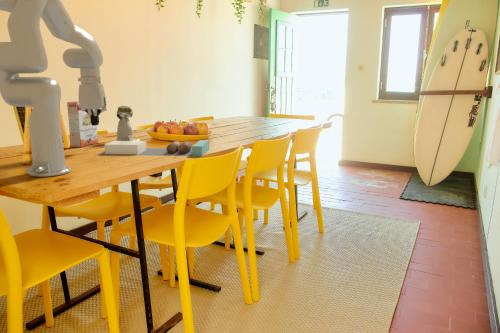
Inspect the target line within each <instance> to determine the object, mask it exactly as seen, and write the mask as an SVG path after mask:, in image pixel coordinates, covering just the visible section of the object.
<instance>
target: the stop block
mask: <svg viewBox="0 0 500 333" xmlns="http://www.w3.org/2000/svg"><path fill="white" fill-rule="evenodd" d="M191 149H192V156H191V157H203V156H204V155H206V153H207V152H209V150H210V140H207V139H206V140H205V139H204V140H203V139H200V140H198V141H197V142H196V143H195V144H192V148H191Z"/></svg>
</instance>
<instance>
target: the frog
mask: <svg viewBox="0 0 500 333" xmlns="http://www.w3.org/2000/svg"><path fill="white" fill-rule="evenodd" d="M133 114H134V111H133V109H132V107H130V106H127V105H121V106H119V107H117V111H116V117H117V119H119V121H118V123H117V129H116V139H114V140H113V141H142V140H141V139H140V138H137V139H135V137H133V134H134V129H133V125H132V122H131V120H130V118H132V117H133Z"/></svg>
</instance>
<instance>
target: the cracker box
mask: <svg viewBox="0 0 500 333" xmlns="http://www.w3.org/2000/svg"><path fill="white" fill-rule="evenodd" d="M66 107H67V118H68V129H69V140H70V148H83V147H87V145H88V146H91V144H92V145H96V144H98V143H99V139H98V138H99V137H98V125H96V126H94V125H93V126H92V124H91V121H90V116H89V114H88V113H87V112H84V111H81V108H80V107H79V100H75V101H74V100H73V101H67V102H66ZM93 110H94V109H93ZM95 143H96V144H95Z"/></svg>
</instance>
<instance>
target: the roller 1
mask: <svg viewBox="0 0 500 333" xmlns="http://www.w3.org/2000/svg"><path fill="white" fill-rule="evenodd" d="M181 144H182V143H181V142H180V141H178V140H174V141H173V142H171V143H170V144H168V145H167V146H166V150H167V152H168V153H169V154H173V153H175V152H176V151H178V147H179V146H180V145H181Z"/></svg>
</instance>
